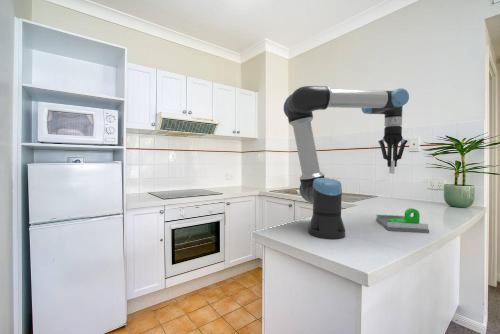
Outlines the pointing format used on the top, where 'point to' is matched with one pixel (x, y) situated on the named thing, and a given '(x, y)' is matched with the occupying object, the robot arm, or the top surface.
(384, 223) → the mounting board
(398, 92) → the robot arm
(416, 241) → the top surface
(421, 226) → the rail guides
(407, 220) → the mechanical part
